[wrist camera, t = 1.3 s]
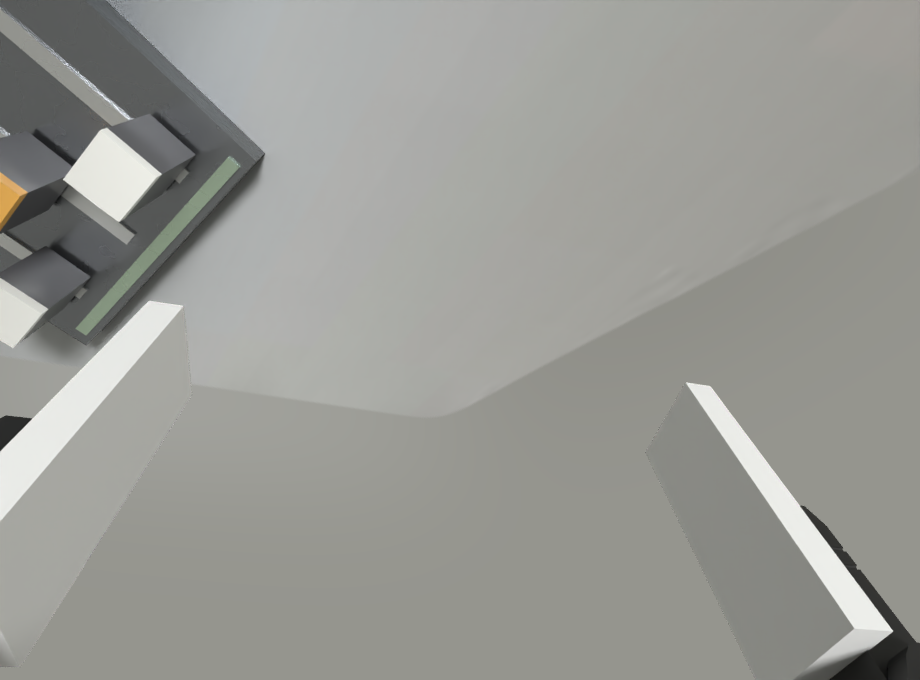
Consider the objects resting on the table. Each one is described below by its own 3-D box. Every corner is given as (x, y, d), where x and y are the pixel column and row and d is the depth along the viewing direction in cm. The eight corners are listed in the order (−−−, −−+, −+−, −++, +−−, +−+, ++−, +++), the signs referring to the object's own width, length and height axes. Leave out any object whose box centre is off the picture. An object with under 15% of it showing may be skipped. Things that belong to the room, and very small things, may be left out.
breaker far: (19, 279, 33) (-41, 316, 29) (45, 245, 32) (-13, 279, 28) (63, 308, 35) (13, 348, 31) (90, 277, 34) (41, 314, 29)
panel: (-143, 171, 32) (-178, 181, 30) (4, -96, 25) (-30, -106, 23) (101, 331, 39) (84, 346, 37) (265, 153, 32) (254, 161, 30)
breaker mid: (-3, 173, 30) (-74, 198, 26) (26, 130, 29) (-44, 150, 24) (48, 210, 31) (-12, 240, 27) (78, 171, 30) (19, 195, 26)
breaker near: (115, 156, 30) (63, 179, 25) (149, 113, 28) (100, 130, 24) (161, 194, 31) (118, 222, 27) (195, 154, 30) (156, 177, 26)
